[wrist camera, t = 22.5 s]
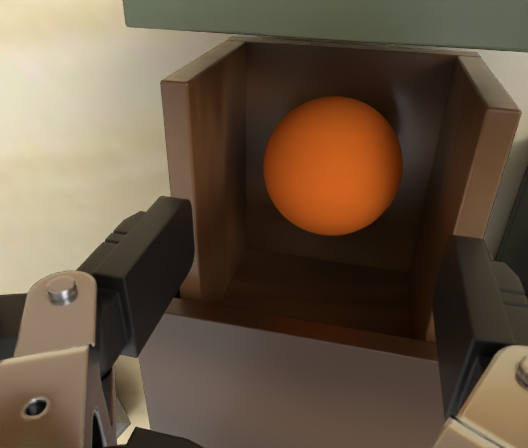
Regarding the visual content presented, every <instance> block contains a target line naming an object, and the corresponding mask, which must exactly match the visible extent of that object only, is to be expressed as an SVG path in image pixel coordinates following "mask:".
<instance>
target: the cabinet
mask: <svg viewBox="0 0 528 448" xmlns="http://www.w3.org/2000/svg"><path fill="white" fill-rule="evenodd" d="M139 362H140V368H141V374H142V380H143V386H144V392H145V398H146V404H147V410H148V416H149V422H150V428H151V430H152V431H156V432H160V433H165V434H169V435H173V436H178V437H182V438H187V439H189V440H191V441H193V442H195V443H196V444H198V445H200V446H202V447H204V448H429V447H430V445H431V444H432V442H433V441H434V439H435V437H436V436H437V434H438V433H439V431H440V430H441V428H442V427H443V425H444V424H445V422H446V421H445V418H444V410H443V401H442V392H441V383H440V374H439V365H438V356H437V347H436V343H434V342H428V341H422V340H416V339H410V338H405V337H399V336H393V335H387V334H381V333H376V332H370V331H364V330H358V329H352V328H347V327H341V326H335V325H329V324H323V323H318V322H312V321H306V320H300V319H294V318H289V317H283V316H277V315H271V314H265V313H259V312H254V311H248V310H242V309H236V308H230V307H225V306H219V305H213V304H207V303H201V302H196V301H190V300H184V299H181V298H180V288H179V290H178V291H177V293H176V295H175V296H174V298H173V300H172V301H171V303H170V305H169V306H168V308H167V310H166V311H165V313H164V315H163V316H162V318H161V320H160V321H159V323H158V324H157V326H156V328H155V329H154V331H153V333H152V334H151V336H150V338H149V339H148V341H147V343H146V344H145V346H144V348H143V349H142V351H141V353H140V354H139Z"/></svg>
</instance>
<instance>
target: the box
mask: <svg viewBox="0 0 528 448" xmlns="http://www.w3.org/2000/svg"><path fill="white" fill-rule="evenodd" d="M495 261H498V262H504V263H505V264H506V265H507V266H508V267H509V268H510V269H511V270H512V271H513V272H514V273H515V274H516V275H517V276H518V277H519V279H520V281H521V284H522V287H523V289H524V292H525V294H524V295H525V296H526V297H527V300H528V166H527V169H526V172H525V175H524V177H523V180H522V183H521V186H520V189H519V192H518V195H517V198H516V201H515V204H514V207H513V210H512V213H511V216H510V219H509V222H508V225H507V228H506V231H505V234H504V237H503V240H502V243H501V245H500V248H499V251H498V254H497V257H496V260H495Z"/></svg>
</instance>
